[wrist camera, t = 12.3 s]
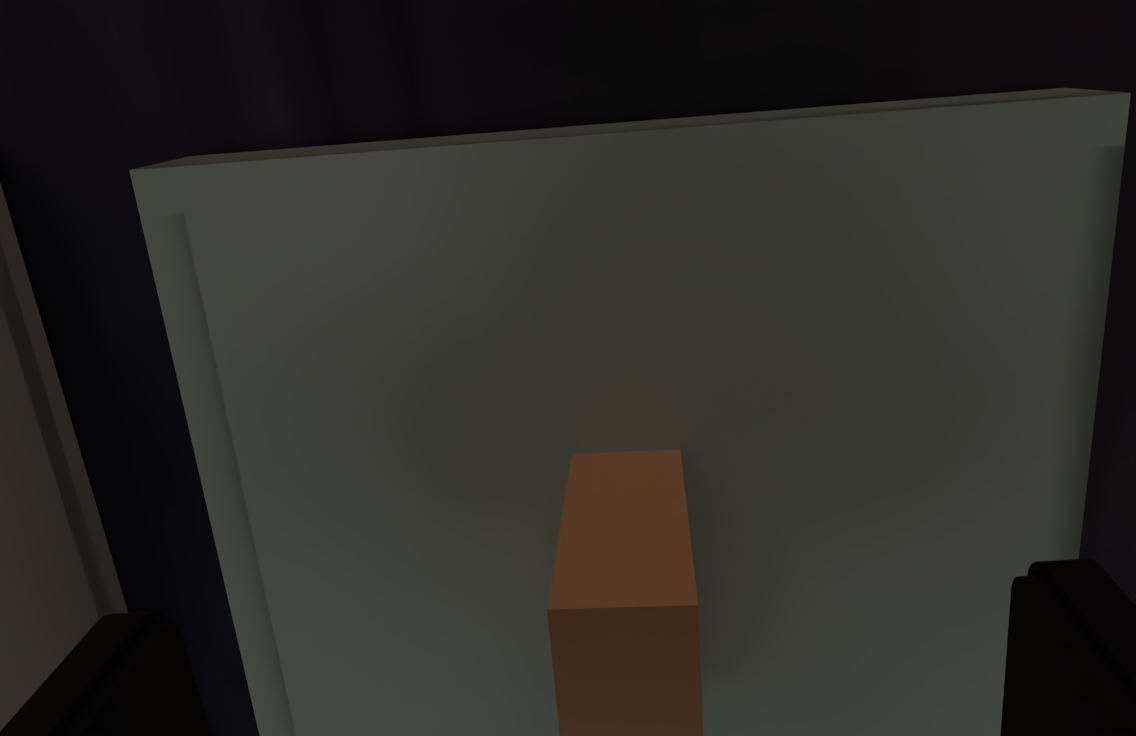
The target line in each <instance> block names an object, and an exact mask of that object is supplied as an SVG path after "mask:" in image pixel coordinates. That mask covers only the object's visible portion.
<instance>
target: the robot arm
mask: <svg viewBox="0 0 1136 736" xmlns="http://www.w3.org/2000/svg"><path fill="white" fill-rule="evenodd" d="M0 736H212V735H211V731H210V728H209V725H208V721H207V718H206V715H205V711H204V708H203V705H202V701H201V698H200V695H199V691H198V688H197V685H196V681H195V678H194V675H193V671H192V668H191V665H190V661H189V658H188V655H187V651H186V648H185V645H184V641H183V638H182V635H181V632H180V630H179V628H178V627H177V626H176V625H175V624H172V623H167V621H166V619H165V618H164V617H163V616H162V614H161V613H158V612H155V611H150V612H132V613H115V614H108V615H104V616H103V617H102V618H101V619H99V620H98V621H97V622H96V623H95V625H94V626H93V627H92V628H91V629H90V630H89V631H88V632H87V634H86V635H85V636H84V637H83V638H82V639H81V640H80V642H79V643H78V644H77V645H76V646H75V647H74V648H73V649H72V651H71V652H70V653H69V654H68V655H67V656H66V657H65V658H64V660H63V661H62V662H61V663H60V664H59V665H58V666H57V668H56V669H55V670H54V671H53V672H52V673H51V674H50V675H49V677H48V678H47V679H46V680H45V681H44V682H43V683H42V685H41V686H40V687H39V688H38V689H37V690H36V691H35V692H34V694H33V695H32V696H31V697H30V698H29V699H28V700H27V701H26V703H25V704H24V705H23V706H22V707H21V708H20V709H19V711H18V712H17V713H16V714H15V715H14V716H13V717H12V718H11V720H10V721H9V722H8V723H7V724H6V725H5V726H4V727H3V729H2V730H1V731H0ZM1000 736H1136V606H1135V605H1134V603H1133V602H1132V601H1131V600H1130V599H1129V598H1128V597H1127V595H1126V594H1125V593H1124V592H1123V591H1122V590H1121V589H1120V588H1119V586H1118V585H1117V584H1116V583H1115V582H1114V581H1113V580H1112V578H1111V577H1110V576H1109V575H1108V574H1107V573H1106V572H1105V570H1104V569H1103V568H1102V567H1101V566H1100V565H1099V564H1098V563H1097V562H1095V561H1094V560H1092V559H1070V560H1052V561H1035V562H1034V563H1032V564H1031V565H1030V568H1029V570H1028V574H1027V576H1017V577H1016V578H1014V580H1013V582H1012V587H1011V597H1010V611H1009V625H1008V638H1007V652H1006V666H1005V679H1004V693H1003V707H1002V720H1001V734H1000Z"/></svg>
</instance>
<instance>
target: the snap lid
mask: <svg viewBox="0 0 1136 736" xmlns="http://www.w3.org/2000/svg"><path fill="white" fill-rule="evenodd" d="M1130 94H1131V93H1125V92H1113V91H1100V90H1087V89H1075V88H1055V89H1043V90H1030V91H1017V92H1004V93H992V94H979V95H966V96H953V97H940V98H928V99H915V100H902V101H889V102H877V103H864V104H851V105H838V106H825V107H813V108H800V109H787V110H774V111H762V112H749V113H736V114H723V115H710V116H698V117H685V118H672V119H659V120H647V121H634V122H621V123H608V124H595V125H583V126H570V127H557V128H544V129H532V130H519V131H506V132H493V133H480V134H468V135H455V136H442V137H429V138H417V139H404V140H391V141H378V142H366V143H353V144H340V145H327V146H314V147H302V148H289V149H276V150H263V151H251V152H238V153H225V154H212V155H199V156H189V157H185V158H181V159H176V160H172V161H168V162H163V163H159V164H155V165H150V166H146V167H142V168H137V169H133V170H129V171H130V175H131V179H132V184H133V188H134V192H135V197H136V201H137V205H138V210H139V214H140V218H141V223H142V227H143V231H144V236H145V240H146V245H147V249H148V253H149V258H150V262H151V266H152V271H153V275H154V279H155V284H156V288H157V292H158V297H159V301H160V305H161V310H162V314H163V318H164V323H165V327H166V331H167V336H168V340H169V344H170V349H171V353H172V357H173V362H174V366H175V370H176V375H177V379H178V383H179V388H180V392H181V396H182V401H183V405H184V409H185V414H186V418H187V422H188V427H189V431H190V435H191V440H192V444H193V449H194V453H195V457H196V462H197V466H198V470H199V475H200V479H201V483H202V488H203V492H204V496H205V501H206V505H207V509H208V514H209V518H210V522H211V527H212V531H213V535H214V540H215V544H216V548H217V553H218V557H219V561H220V566H221V570H222V574H223V579H224V583H225V587H226V592H227V596H228V600H229V605H230V609H231V613H232V618H233V622H234V626H235V631H236V635H237V640H238V644H239V648H240V653H241V657H242V661H243V666H244V670H245V674H246V679H247V683H248V687H249V692H250V696H251V700H252V705H253V709H254V713H255V718H256V722H257V726H258V731H259V735H260V736H1000V734H1001V720H1002V707H1003V693H1004V679H1005V666H1006V652H1007V638H1008V625H1009V611H1010V597H1011V587H1012V582H1013V580H1014V578H1016V577H1017V576H1027V574H1028V570H1029V568H1030V565H1031V564H1032V563H1034V562H1035V561H1052V560H1070V559H1079V551H1080V542H1081V533H1082V524H1083V515H1084V506H1085V497H1086V488H1087V479H1088V471H1089V462H1090V453H1091V444H1092V435H1093V426H1094V417H1095V408H1096V399H1097V390H1098V381H1099V372H1100V363H1101V354H1102V345H1103V336H1104V327H1105V318H1106V309H1107V300H1108V291H1109V282H1110V273H1111V264H1112V255H1113V247H1114V238H1115V229H1116V220H1117V211H1118V202H1119V193H1120V184H1121V175H1122V166H1123V157H1124V148H1125V139H1126V130H1127V121H1128V112H1129V103H1130Z"/></svg>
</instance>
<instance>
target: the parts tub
mask: <svg viewBox="0 0 1136 736" xmlns="http://www.w3.org/2000/svg"><path fill="white" fill-rule="evenodd" d="M115 613H128V610H127V606H126V603H125V600H124V596H123V593H122V590H121V586H120V583H119V579H118V576H117V573H116V569H115V566H114V563H113V559H112V556H111V553H110V549H109V546H108V542H107V539H106V536H105V532H104V529H103V526H102V522H101V519H100V516H99V512H98V509H97V506H96V502H95V499H94V495H93V492H92V489H91V485H90V482H89V479H88V475H87V472H86V469H85V465H84V462H83V458H82V455H81V452H80V448H79V445H78V442H77V438H76V435H75V432H74V428H73V425H72V421H71V418H70V415H69V411H68V408H67V405H66V401H65V398H64V395H63V391H62V388H61V385H60V381H59V378H58V374H57V371H56V368H55V364H54V361H53V358H52V354H51V351H50V348H49V344H48V341H47V337H46V334H45V331H44V327H43V324H42V321H41V317H40V314H39V311H38V307H37V304H36V300H35V297H34V294H33V290H32V287H31V284H30V280H29V277H28V274H27V270H26V267H25V264H24V260H23V257H22V253H21V250H20V247H19V243H18V240H17V237H16V233H15V230H14V227H13V223H12V220H11V216H10V213H9V210H8V206H7V203H6V200H5V196H4V193H3V190H2V186H1V183H0V731H1V730H2V729H3V727H4V726H5V725H6V724H7V723H8V722H9V721H10V720H11V718H12V717H13V716H14V715H15V714H16V713H17V712H18V711H19V709H20V708H21V707H22V706H23V705H24V704H25V703H26V701H27V700H28V699H29V698H30V697H31V696H32V695H33V694H34V692H35V691H36V690H37V689H38V688H39V687H40V686H41V685H42V683H43V682H44V681H45V680H46V679H47V678H48V677H49V675H50V674H51V673H52V672H53V671H54V670H55V669H56V668H57V666H58V665H59V664H60V663H61V662H62V661H63V660H64V658H65V657H66V656H67V655H68V654H69V653H70V652H71V651H72V649H73V648H74V647H75V646H76V645H77V644H78V643H79V642H80V640H81V639H82V638H83V637H84V636H85V635H86V634H87V632H88V631H89V630H90V629H91V628H92V627H93V626H94V625H95V623H96V622H97V621H98V620H99V619H101V618H102V617H103V616H104V615H108V614H115Z"/></svg>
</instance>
